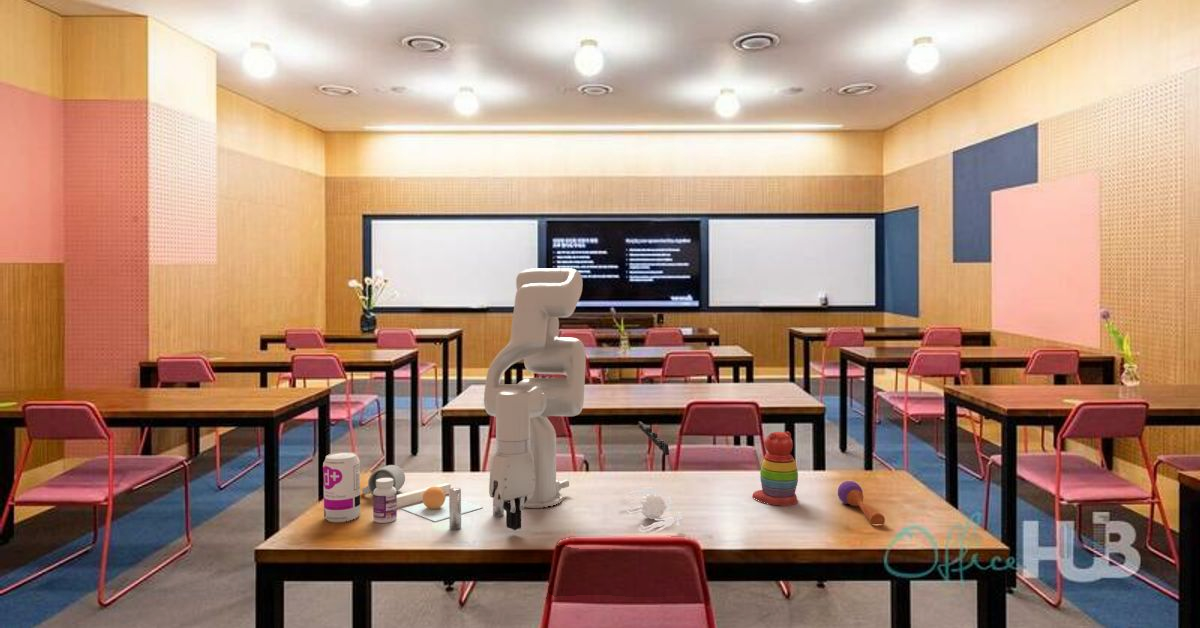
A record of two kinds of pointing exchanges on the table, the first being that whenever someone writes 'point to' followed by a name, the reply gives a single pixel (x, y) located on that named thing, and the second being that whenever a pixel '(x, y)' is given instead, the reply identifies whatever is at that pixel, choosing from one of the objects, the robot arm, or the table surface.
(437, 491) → the ball
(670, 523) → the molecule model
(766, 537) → the table surface
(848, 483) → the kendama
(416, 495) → the strip
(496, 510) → the post
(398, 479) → the ceramic mug
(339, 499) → the supplement can
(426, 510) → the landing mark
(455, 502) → the post
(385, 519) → the pill bottle
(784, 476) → the stacking bear
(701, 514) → the table surface
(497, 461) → the robot arm
